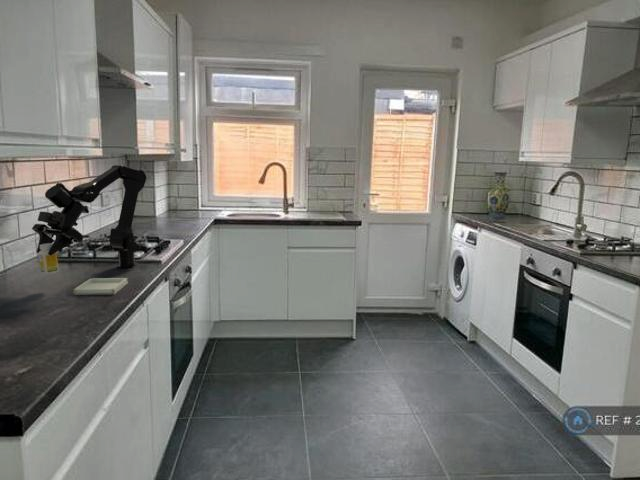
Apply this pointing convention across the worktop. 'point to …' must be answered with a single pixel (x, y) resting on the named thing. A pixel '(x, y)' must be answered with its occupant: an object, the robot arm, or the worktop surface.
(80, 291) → the sage tray
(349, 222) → the worktop surface
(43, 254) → the supplement bottle
